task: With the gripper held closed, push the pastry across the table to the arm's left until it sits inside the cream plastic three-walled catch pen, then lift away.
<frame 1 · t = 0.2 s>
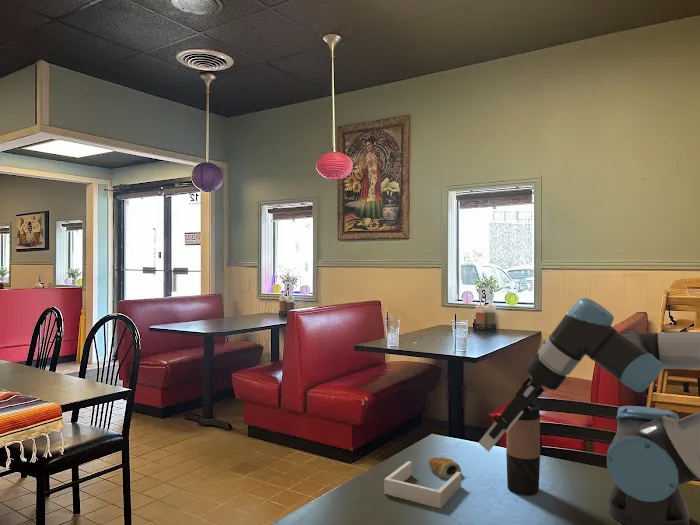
hand: (493, 437, 119), 16 cm above the table, tool tilted 35°, fingers open, 13 cm apart
travel mug: (522, 490, 129), on the table
catch pen: (423, 490, 128), on the table
pastry: (443, 473, 139), on the table
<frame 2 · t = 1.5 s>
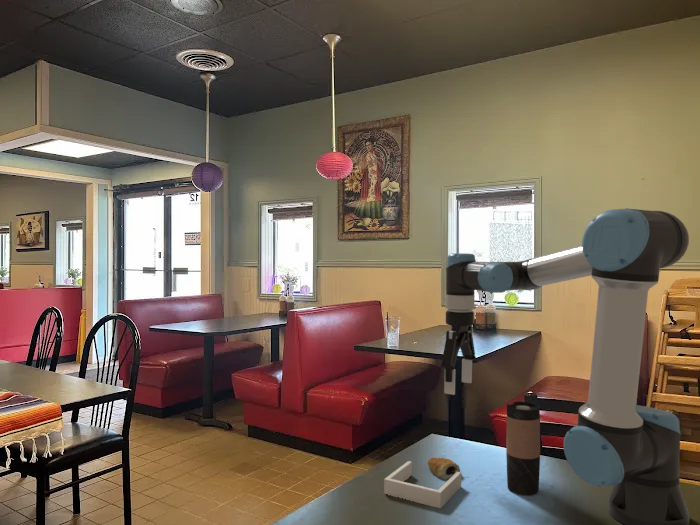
hand: (458, 388, 147), 20 cm above the table, tool pointing down, fingers open, 13 cm apart
nothing on the table moved.
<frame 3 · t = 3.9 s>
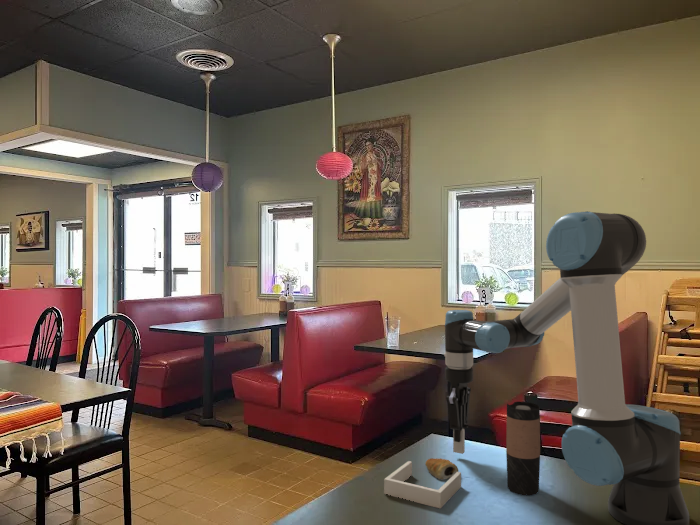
hand: (458, 452, 148), 2 cm above the table, tool pointing down, fingers closed
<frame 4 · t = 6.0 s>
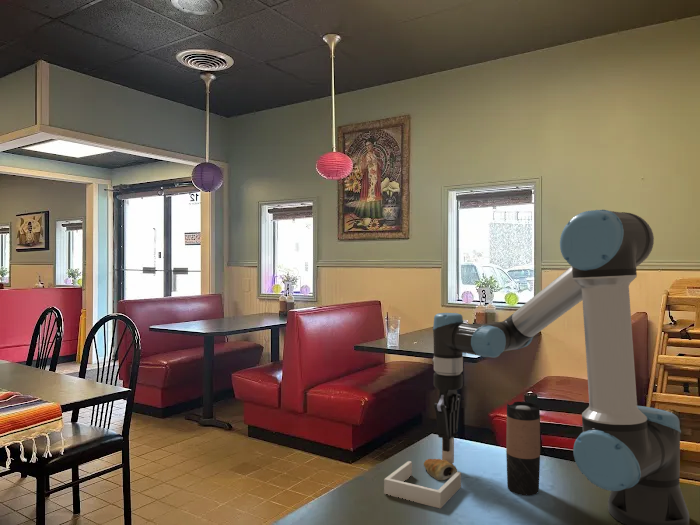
hand: (448, 461, 141), 2 cm above the table, tool pointing down, fingers closed
pastry: (439, 475, 138), on the table, touching gripper
everything else where it was.
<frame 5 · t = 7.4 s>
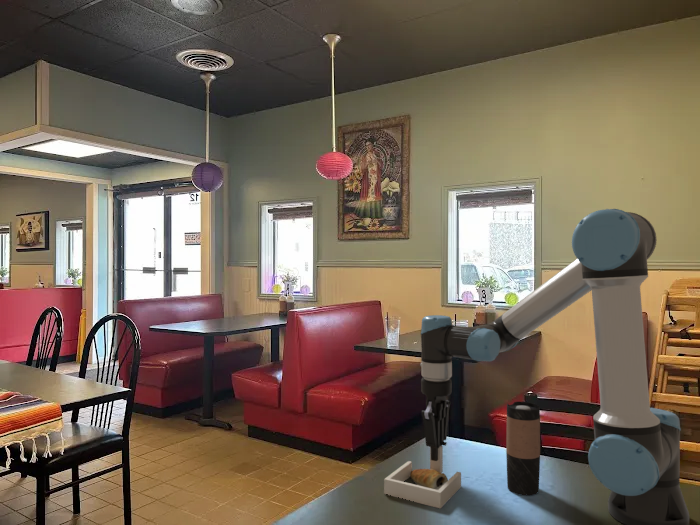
hand: (436, 471, 135), 2 cm above the table, tool pointing down, fingers closed
pastry: (428, 485, 132), on the table, touching gripper
everything else where it was.
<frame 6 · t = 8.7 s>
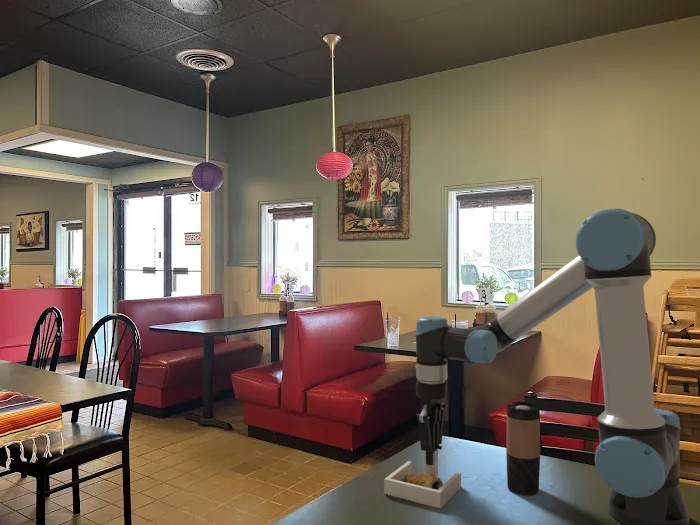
hand: (431, 476, 132), 2 cm above the table, tool pointing down, fingers closed
pastry: (423, 490, 129), on the table
everything else where it was.
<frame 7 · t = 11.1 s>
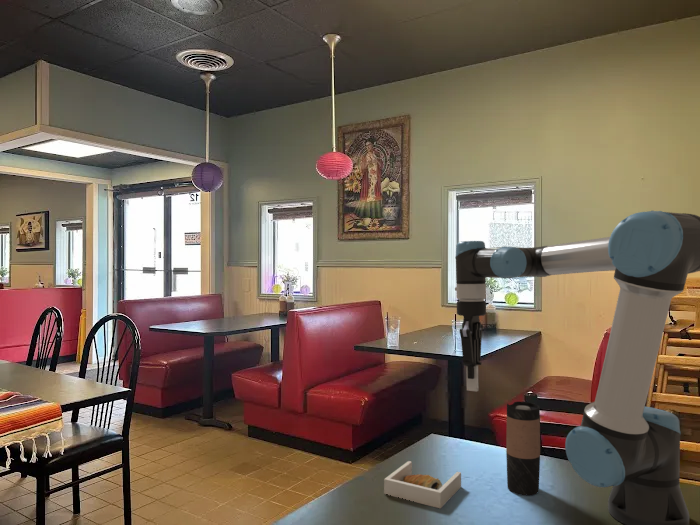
hand: (472, 390, 141), 20 cm above the table, tool pointing down, fingers closed
nothing on the table moved.
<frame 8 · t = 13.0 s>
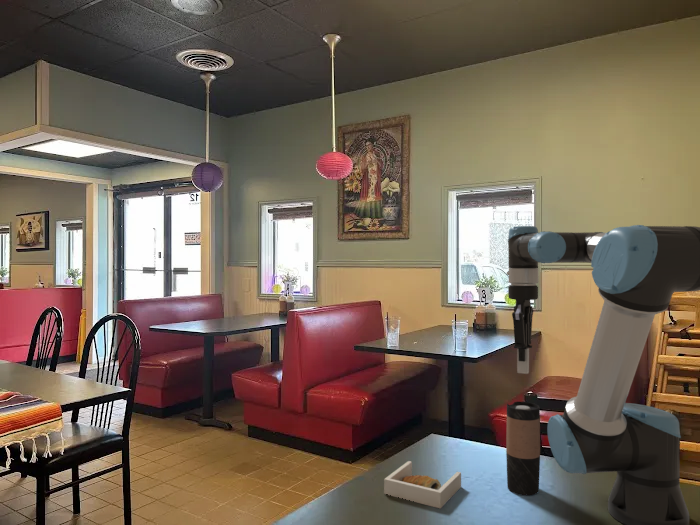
hand: (523, 372, 144), 24 cm above the table, tool pointing down, fingers closed
at the end: pastry inside the target area on the catch pen (0.5 cm from its centre), point -0.5 cm above the catch pen's base; travel mug moved 0.2 cm from its start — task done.
